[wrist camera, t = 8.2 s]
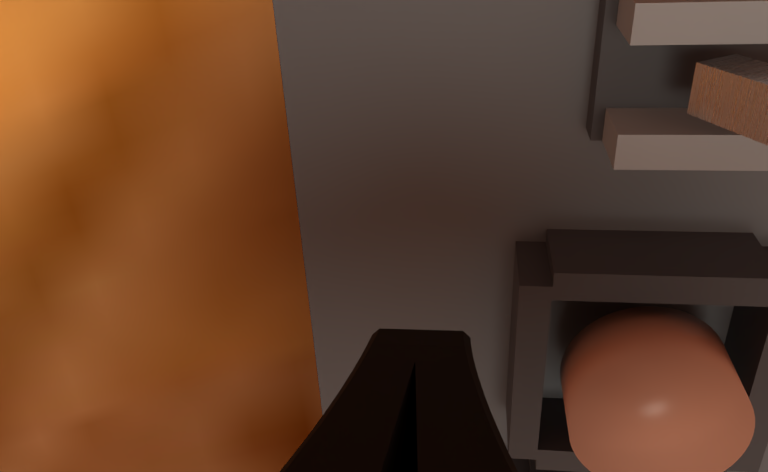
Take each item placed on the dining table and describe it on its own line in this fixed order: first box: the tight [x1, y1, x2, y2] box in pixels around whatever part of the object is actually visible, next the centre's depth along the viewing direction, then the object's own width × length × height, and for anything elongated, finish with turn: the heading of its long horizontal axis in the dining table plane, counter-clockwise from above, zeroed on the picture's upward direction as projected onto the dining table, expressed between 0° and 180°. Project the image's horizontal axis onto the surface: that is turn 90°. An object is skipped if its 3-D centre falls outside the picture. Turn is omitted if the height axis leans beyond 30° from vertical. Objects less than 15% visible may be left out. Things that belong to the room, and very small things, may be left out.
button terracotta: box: [560, 306, 755, 472], centre depth 13 cm, size 3×3×2 cm
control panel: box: [273, 0, 768, 472], centre depth 17 cm, size 14×24×4 cm, turn 2°
